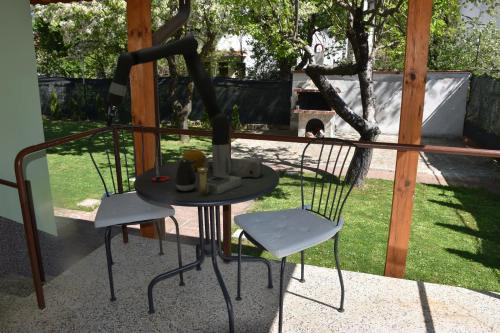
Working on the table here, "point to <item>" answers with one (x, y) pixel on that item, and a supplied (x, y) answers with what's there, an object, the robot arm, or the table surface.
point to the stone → (250, 167)
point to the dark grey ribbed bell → (185, 175)
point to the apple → (195, 158)
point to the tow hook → (157, 178)
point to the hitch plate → (222, 183)
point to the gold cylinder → (203, 180)
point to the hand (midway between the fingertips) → (108, 125)
